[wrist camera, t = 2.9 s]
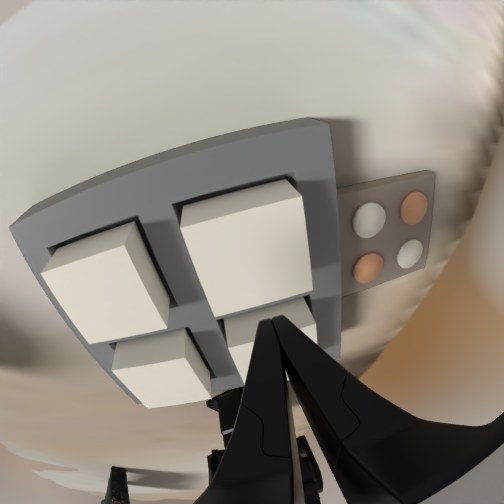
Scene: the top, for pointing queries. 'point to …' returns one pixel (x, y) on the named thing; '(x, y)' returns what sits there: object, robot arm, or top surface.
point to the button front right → (249, 246)
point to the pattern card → (384, 229)
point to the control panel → (171, 239)
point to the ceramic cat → (117, 487)
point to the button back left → (162, 369)
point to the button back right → (245, 325)
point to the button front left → (109, 285)
